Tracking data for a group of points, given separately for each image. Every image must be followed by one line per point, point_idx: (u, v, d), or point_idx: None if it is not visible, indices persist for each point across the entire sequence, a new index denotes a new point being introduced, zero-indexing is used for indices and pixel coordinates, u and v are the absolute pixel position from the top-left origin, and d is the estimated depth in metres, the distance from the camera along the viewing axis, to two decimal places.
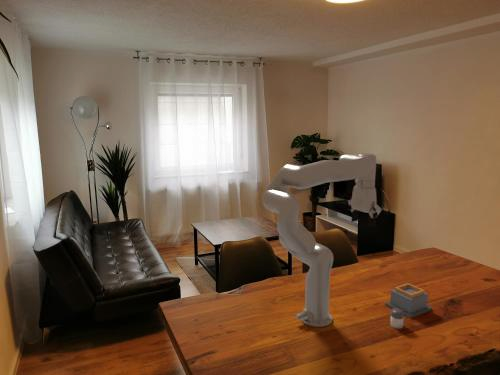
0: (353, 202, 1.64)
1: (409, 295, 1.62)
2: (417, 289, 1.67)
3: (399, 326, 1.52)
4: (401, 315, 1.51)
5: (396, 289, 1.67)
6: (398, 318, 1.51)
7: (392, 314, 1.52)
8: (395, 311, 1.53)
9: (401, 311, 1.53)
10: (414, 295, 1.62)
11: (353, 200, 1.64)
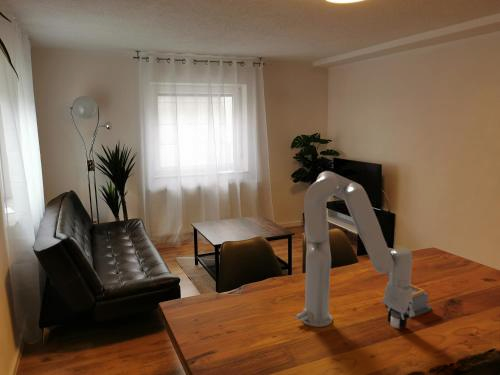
0: (386, 298, 1.54)
1: None
2: (417, 289, 1.67)
3: None
4: None
5: None
6: (398, 318, 1.51)
7: (392, 314, 1.52)
8: (395, 311, 1.53)
9: None
10: (414, 295, 1.62)
11: (386, 296, 1.54)
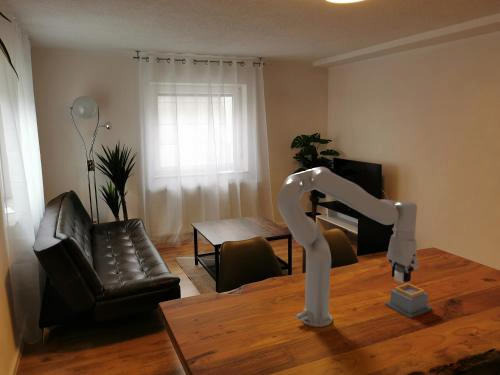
0: (390, 253, 1.51)
1: (409, 295, 1.62)
2: (417, 289, 1.67)
3: None
4: None
5: (396, 289, 1.67)
6: (402, 272, 1.48)
7: (396, 268, 1.50)
8: (399, 265, 1.50)
9: None
10: (414, 295, 1.62)
11: (390, 250, 1.51)
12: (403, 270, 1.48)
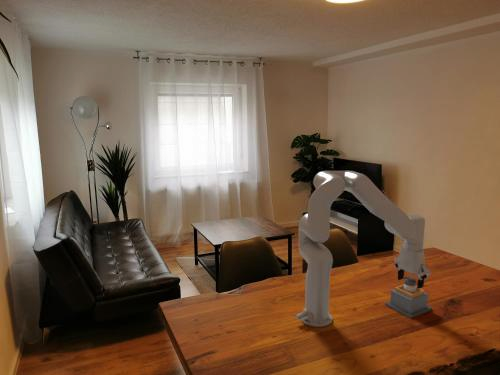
0: (400, 262, 1.66)
1: (409, 295, 1.62)
2: (417, 289, 1.67)
3: (412, 292, 1.64)
4: (414, 282, 1.63)
5: (396, 289, 1.67)
6: (411, 285, 1.64)
7: (405, 282, 1.65)
8: (408, 279, 1.65)
9: (413, 279, 1.65)
10: (414, 295, 1.62)
11: (400, 260, 1.66)
12: (412, 283, 1.63)
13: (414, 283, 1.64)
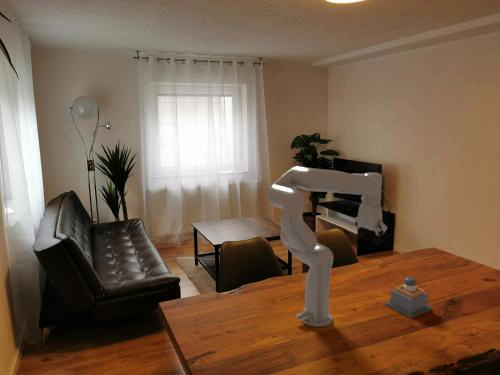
0: (359, 220, 1.67)
1: (409, 295, 1.62)
2: (417, 289, 1.67)
3: (412, 292, 1.64)
4: (414, 282, 1.63)
5: (396, 289, 1.67)
6: (411, 285, 1.64)
7: (405, 282, 1.65)
8: (408, 279, 1.65)
9: (413, 279, 1.65)
10: (414, 295, 1.62)
11: (359, 218, 1.67)
12: (412, 283, 1.63)
13: (414, 283, 1.64)
